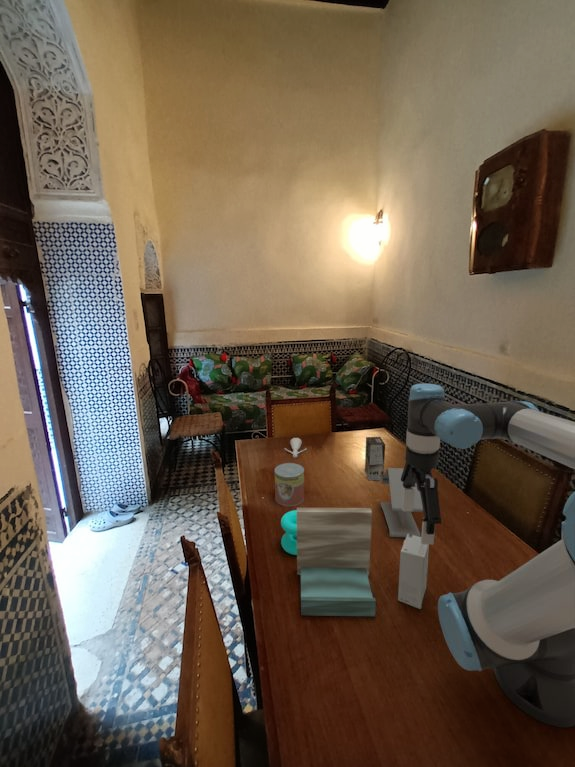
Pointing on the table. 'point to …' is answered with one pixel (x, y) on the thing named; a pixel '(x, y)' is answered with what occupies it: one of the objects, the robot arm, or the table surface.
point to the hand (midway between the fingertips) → (416, 525)
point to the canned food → (289, 484)
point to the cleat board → (334, 561)
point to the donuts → (290, 532)
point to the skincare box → (413, 571)
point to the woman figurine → (295, 446)
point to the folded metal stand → (399, 506)
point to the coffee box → (374, 458)
